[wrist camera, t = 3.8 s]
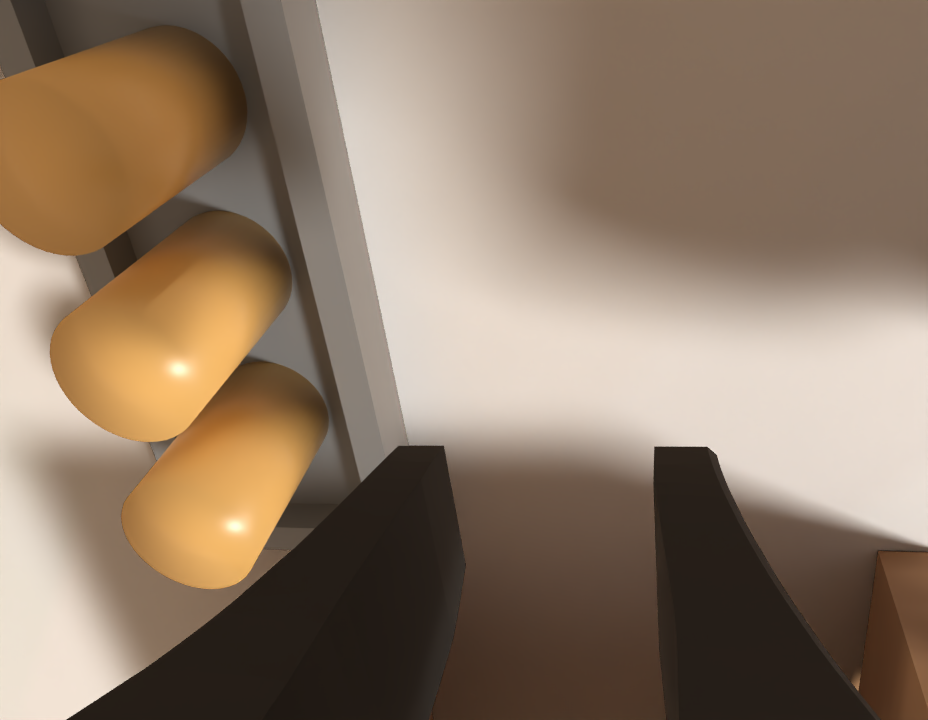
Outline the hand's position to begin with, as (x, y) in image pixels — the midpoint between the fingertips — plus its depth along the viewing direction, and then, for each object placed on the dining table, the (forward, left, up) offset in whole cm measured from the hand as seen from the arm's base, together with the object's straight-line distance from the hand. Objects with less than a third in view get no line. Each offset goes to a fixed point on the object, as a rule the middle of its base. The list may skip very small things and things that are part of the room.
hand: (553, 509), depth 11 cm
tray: (+9, -1, -9) cm, 13 cm away
